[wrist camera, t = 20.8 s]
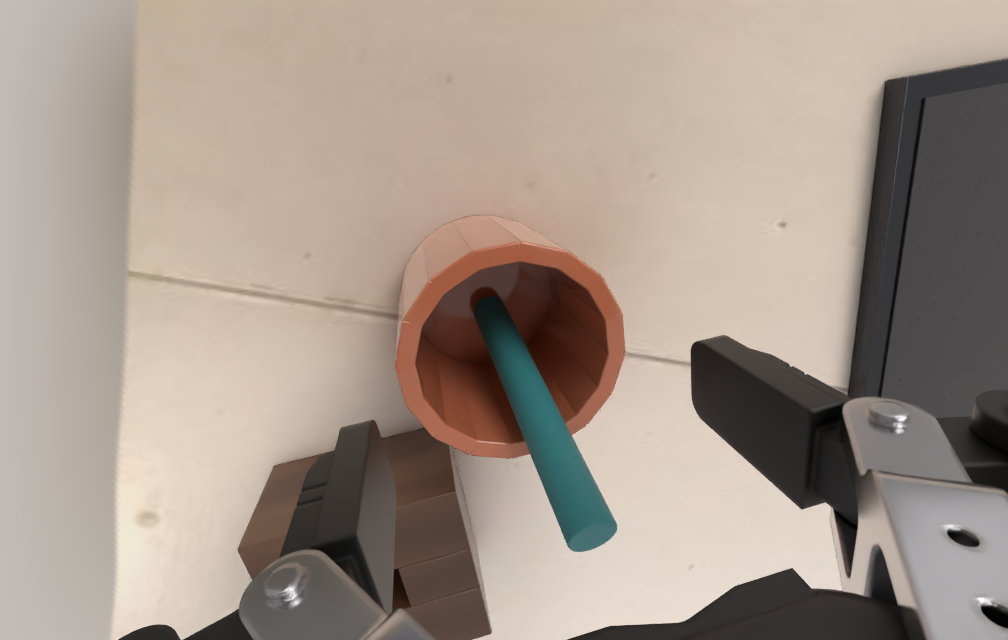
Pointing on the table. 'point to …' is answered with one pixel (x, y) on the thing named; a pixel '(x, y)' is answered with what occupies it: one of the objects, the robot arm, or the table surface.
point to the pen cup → (536, 314)
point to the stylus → (545, 433)
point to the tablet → (938, 244)
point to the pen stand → (400, 535)
